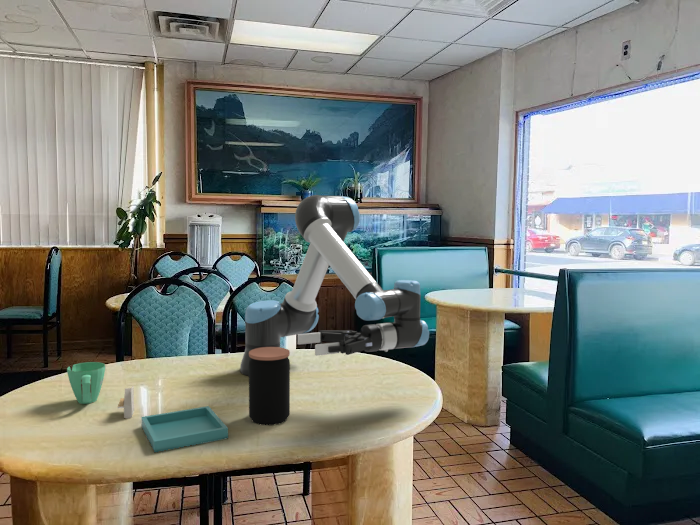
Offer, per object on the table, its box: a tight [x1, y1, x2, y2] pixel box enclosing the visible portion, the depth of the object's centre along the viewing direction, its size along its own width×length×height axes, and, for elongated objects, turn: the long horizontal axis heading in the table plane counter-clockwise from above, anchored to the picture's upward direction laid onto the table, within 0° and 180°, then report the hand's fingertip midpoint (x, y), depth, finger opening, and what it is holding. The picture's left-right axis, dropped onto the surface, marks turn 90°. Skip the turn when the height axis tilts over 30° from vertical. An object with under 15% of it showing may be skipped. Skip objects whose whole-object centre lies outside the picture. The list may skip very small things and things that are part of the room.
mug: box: [66, 361, 106, 405], centre depth 157 cm, size 15×10×10 cm
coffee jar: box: [248, 346, 291, 426], centre depth 147 cm, size 11×11×18 cm
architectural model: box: [117, 385, 135, 419], centre depth 150 cm, size 3×7×7 cm, turn 16°
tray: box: [140, 405, 229, 453], centre depth 138 cm, size 17×17×3 cm
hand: (306, 344), depth 150 cm, fingers open, 13 cm apart
